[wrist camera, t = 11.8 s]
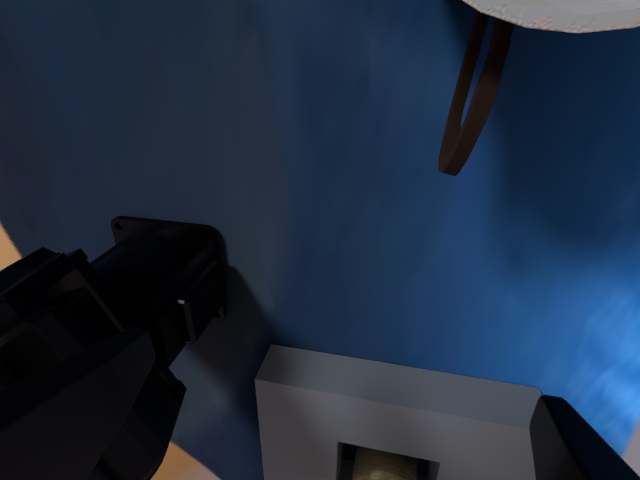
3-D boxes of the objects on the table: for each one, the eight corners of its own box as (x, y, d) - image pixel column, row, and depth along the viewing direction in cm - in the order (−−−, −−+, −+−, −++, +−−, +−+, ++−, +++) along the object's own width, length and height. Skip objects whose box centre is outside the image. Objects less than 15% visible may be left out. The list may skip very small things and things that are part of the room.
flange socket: (280, 476, 32) (267, 515, 30) (271, 344, 26) (254, 379, 23) (489, 524, 29) (496, 572, 27) (539, 387, 23) (554, 433, 20)
